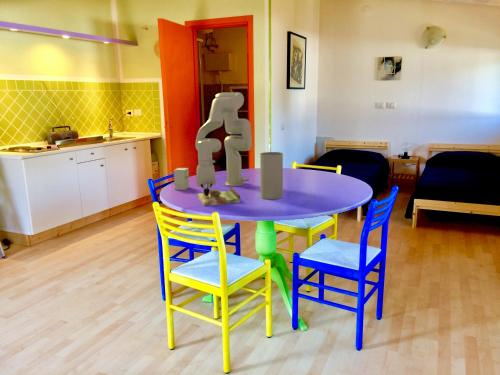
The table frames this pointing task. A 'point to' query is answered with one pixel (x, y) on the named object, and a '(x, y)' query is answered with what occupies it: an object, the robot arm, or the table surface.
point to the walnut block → (214, 193)
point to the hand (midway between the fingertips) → (206, 195)
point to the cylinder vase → (271, 175)
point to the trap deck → (220, 198)
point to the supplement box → (181, 178)
